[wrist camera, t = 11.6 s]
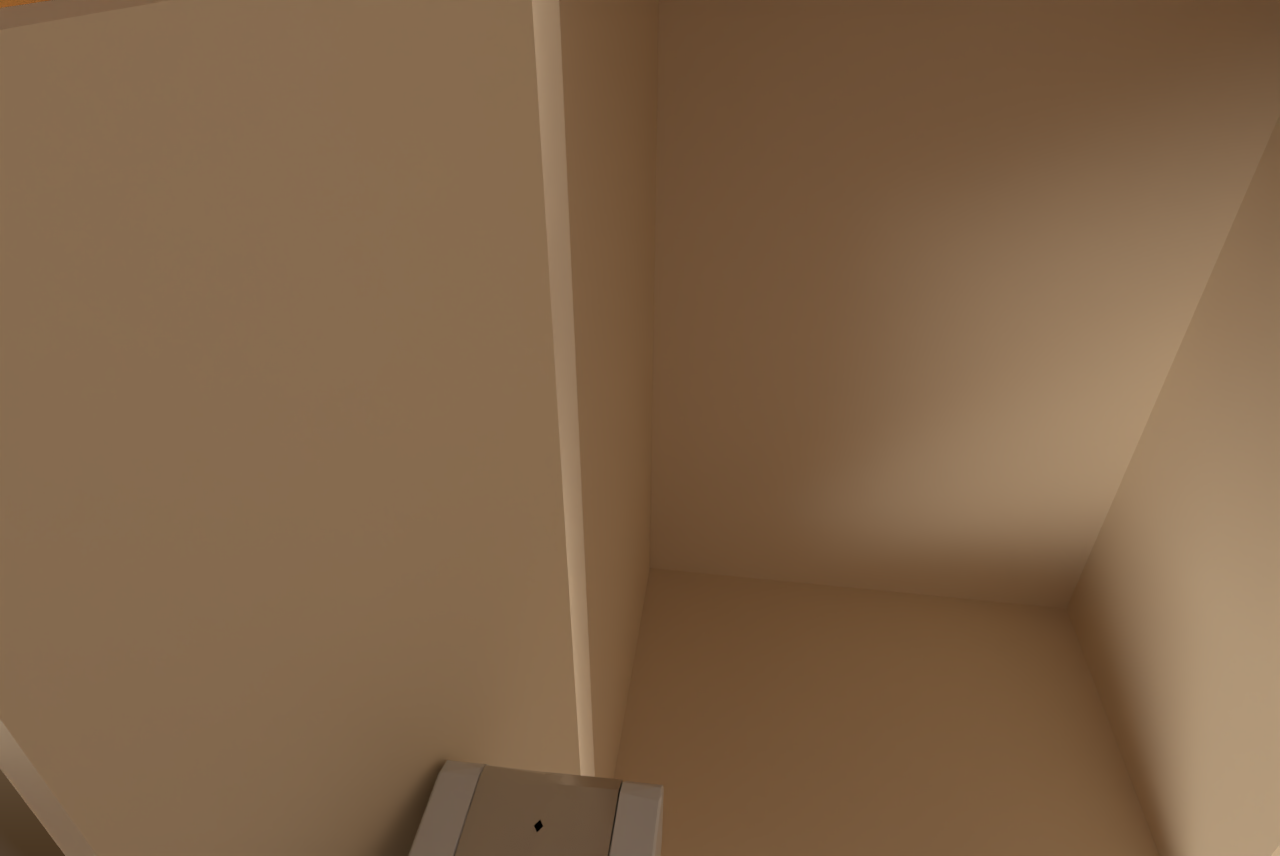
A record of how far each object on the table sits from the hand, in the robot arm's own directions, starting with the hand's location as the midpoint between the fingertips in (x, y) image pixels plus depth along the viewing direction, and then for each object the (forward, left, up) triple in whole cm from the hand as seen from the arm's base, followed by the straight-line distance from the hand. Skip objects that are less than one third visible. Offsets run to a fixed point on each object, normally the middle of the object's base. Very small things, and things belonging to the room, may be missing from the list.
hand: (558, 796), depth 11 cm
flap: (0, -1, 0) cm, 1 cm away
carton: (0, +6, -14) cm, 15 cm away
